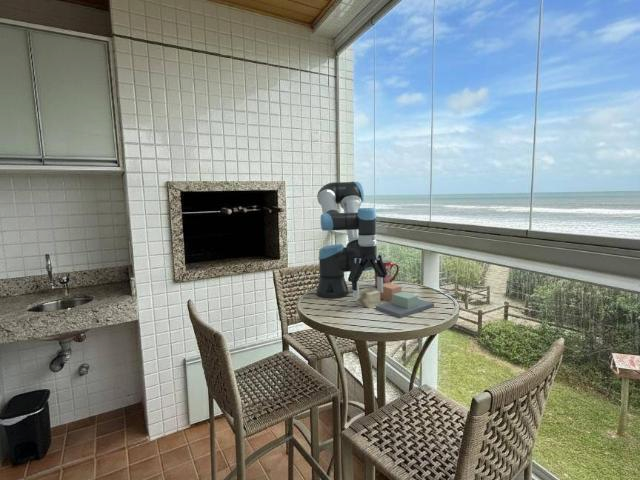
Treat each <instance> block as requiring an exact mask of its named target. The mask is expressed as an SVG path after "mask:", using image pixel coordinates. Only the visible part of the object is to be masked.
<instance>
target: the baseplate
mask: <svg viewBox="0 0 640 480" xmlns="http://www.w3.org/2000/svg"><path fill="white" fill-rule="evenodd" d="M434 307H435V302H434V303H433V302H432V301H426V300H424V299H420V298H419V296H418V295H417V294H413V293H409V292H406V291H401V292H399V293H395V294H392V301H391V302H390V301H388V302H384V303H382V304H381V303H380V305H377V306H376V307H375V310H377V311H380V312H382V313H385V314H388V315H391V316H393V317H396V318H399V319H401V318H405V317H407V316H412V315H413V314H417V313H420V312H423V311H426V310H428V309H433V308H434Z"/></svg>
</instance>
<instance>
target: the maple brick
mask: <svg viewBox="0 0 640 480" xmlns="http://www.w3.org/2000/svg"><path fill="white" fill-rule="evenodd" d="M380 304H381V298H380V292H379V291H377V290H375V289H372V288H369V287H366V288H365V287H364V288H362V289H359V299H357V298H356V305H360V306H362V307H364V308H367V309H372V308H376V306H377V305H380Z"/></svg>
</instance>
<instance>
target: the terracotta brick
mask: <svg viewBox="0 0 640 480" xmlns="http://www.w3.org/2000/svg"><path fill="white" fill-rule="evenodd" d="M399 292H402V286H401V285H398V284H393V283H386V284H383V293H381V292H380V300H381V299H382V300H384V301H388V302H391V301H392V294H395V293H399Z"/></svg>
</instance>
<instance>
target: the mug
mask: <svg viewBox="0 0 640 480" xmlns="http://www.w3.org/2000/svg"><path fill="white" fill-rule="evenodd" d="M382 261H383V264H384V266H385V269H386V271H387V275H386V277H385V278H384V284H386V283H390V284H392V282H393V281H394V280H395V279H396V277H397V276H398V274H399V271H400V267H399V265H398V264H397V263H392V260H391V259H388V258H387V259H384V258H382ZM375 262H376V261H375ZM376 263H377V262H376ZM377 266H378V264H377ZM394 266H396V271H395V273H394V275H393V277H392V278H391V276H392V275H391V272H392V271H391V270H392V269H393V267H394ZM378 267H379V266H378ZM373 273H374V280H375V281H374V283H375V285H374V286H375V288H377V277H379V276H378V274H377V273H376V272H375V270H374V269H373Z"/></svg>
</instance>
